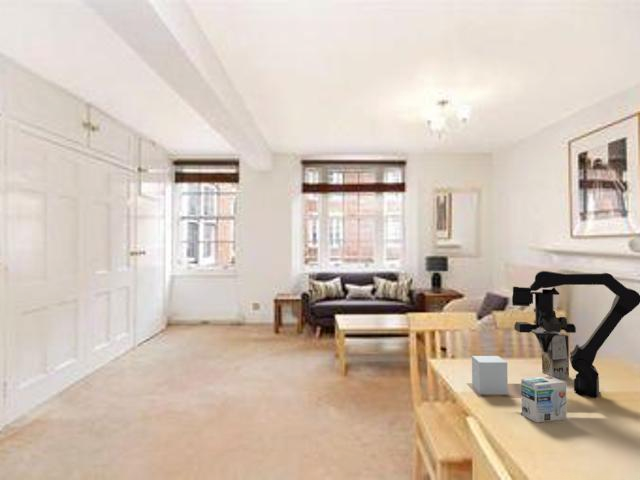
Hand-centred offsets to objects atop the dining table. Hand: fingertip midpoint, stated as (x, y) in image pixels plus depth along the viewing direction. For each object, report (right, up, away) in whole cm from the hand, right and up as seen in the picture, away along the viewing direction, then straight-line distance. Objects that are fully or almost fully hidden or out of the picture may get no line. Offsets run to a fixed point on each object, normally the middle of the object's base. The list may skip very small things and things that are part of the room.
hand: (544, 352), depth 160 cm
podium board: (-16, -13, -4) cm, 21 cm away
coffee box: (+12, -13, +17) cm, 25 cm away
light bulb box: (-13, -13, -25) cm, 31 cm away
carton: (-21, -12, -4) cm, 24 cm away
